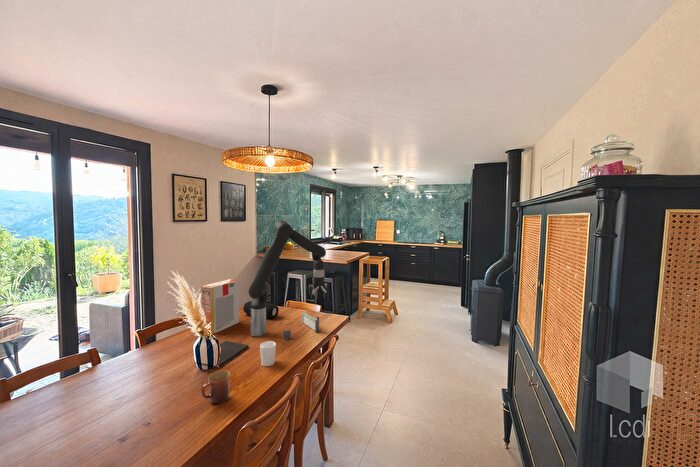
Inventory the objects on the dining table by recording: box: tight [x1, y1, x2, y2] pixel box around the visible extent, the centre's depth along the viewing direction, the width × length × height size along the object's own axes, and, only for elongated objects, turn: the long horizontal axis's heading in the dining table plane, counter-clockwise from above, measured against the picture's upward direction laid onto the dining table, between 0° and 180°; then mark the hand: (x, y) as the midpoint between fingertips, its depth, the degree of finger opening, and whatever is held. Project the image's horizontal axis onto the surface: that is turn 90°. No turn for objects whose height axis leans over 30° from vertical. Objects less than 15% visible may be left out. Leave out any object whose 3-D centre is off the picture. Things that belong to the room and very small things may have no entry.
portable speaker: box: [242, 300, 280, 319], centre depth 215 cm, size 26×10×10 cm, turn 71°
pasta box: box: [200, 278, 240, 335], centre depth 192 cm, size 23×8×30 cm, turn 156°
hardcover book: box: [216, 340, 250, 369], centre depth 156 cm, size 16×23×2 cm
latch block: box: [282, 328, 292, 340], centre depth 178 cm, size 4×2×5 cm, turn 112°
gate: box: [301, 311, 316, 331], centre depth 196 cm, size 18×2×7 cm, turn 37°
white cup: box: [259, 340, 277, 367], centre depth 148 cm, size 8×8×10 cm
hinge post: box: [314, 316, 320, 334], centre depth 188 cm, size 2×2×10 cm
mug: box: [200, 369, 232, 404], centre depth 118 cm, size 12×9×10 cm
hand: (318, 298), depth 199 cm, fingers open, 8 cm apart
